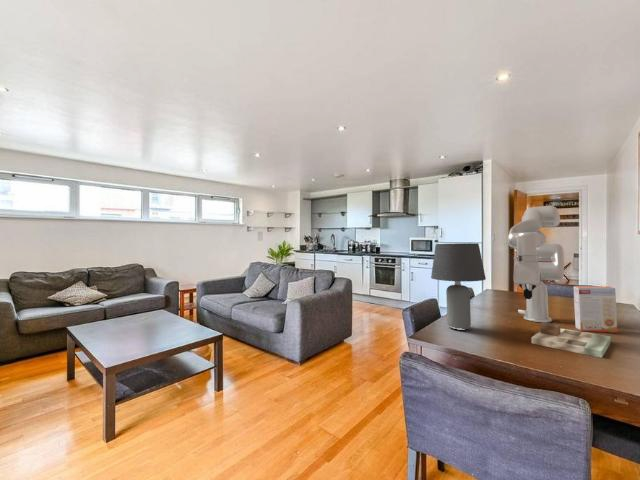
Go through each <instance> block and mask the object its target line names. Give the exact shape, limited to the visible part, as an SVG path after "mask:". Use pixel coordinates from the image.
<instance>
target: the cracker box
mask: <svg viewBox="0 0 640 480" xmlns="http://www.w3.org/2000/svg"><path fill="white" fill-rule="evenodd" d="M573 305H574V319H575V320H574V322H575V329H577V330H579V331H580V332H591V333H592V332H595V333H596V332H597V333H598V332H599V333H609V334H610V333H613V334H614V333H615V334H617V333H618V319H617V318H618V316H617V315H618V314H617V296H616V288H615V287H611V286H597V285H596V286H593V285H591V286H590V285H589V286H588V285H574V286H573Z"/></svg>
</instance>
